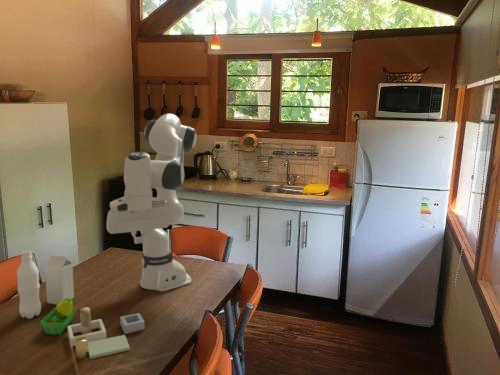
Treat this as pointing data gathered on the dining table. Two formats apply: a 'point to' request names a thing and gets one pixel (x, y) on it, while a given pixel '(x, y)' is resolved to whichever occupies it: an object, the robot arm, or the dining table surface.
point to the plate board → (108, 346)
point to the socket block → (132, 323)
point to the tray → (89, 336)
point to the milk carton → (59, 279)
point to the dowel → (85, 320)
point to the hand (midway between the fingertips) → (139, 242)
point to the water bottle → (28, 286)
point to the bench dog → (81, 347)
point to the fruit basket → (59, 317)
